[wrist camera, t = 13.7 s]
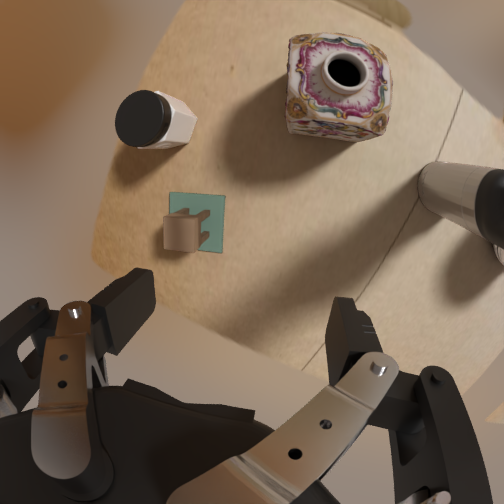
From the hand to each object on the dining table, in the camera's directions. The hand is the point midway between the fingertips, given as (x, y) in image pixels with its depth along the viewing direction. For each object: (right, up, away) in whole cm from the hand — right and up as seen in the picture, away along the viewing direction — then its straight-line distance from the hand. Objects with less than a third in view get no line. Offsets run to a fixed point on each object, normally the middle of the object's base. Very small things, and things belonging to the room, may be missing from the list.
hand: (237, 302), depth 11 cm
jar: (-13, +24, +30) cm, 41 cm away
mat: (-9, +7, +35) cm, 37 cm away
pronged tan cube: (-9, +7, +35) cm, 37 cm away
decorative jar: (+12, +26, +26) cm, 38 cm away
